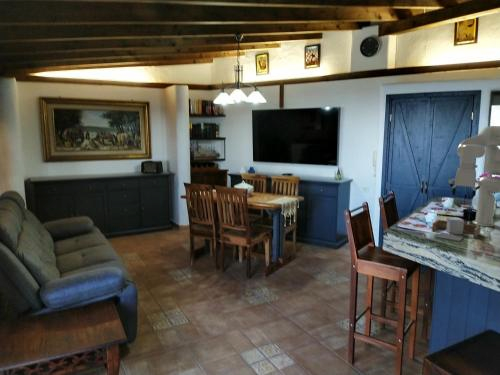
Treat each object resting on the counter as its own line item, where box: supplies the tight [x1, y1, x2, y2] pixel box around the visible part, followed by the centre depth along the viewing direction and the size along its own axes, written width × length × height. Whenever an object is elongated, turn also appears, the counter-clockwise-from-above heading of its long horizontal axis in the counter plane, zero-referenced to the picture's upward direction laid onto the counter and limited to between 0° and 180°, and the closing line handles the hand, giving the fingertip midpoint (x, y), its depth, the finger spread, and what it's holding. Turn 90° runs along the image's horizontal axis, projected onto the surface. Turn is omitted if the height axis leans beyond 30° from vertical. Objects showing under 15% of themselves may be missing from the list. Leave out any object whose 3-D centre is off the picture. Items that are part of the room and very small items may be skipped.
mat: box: [436, 232, 465, 242], centre depth 219 cm, size 12×12×1 cm
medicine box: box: [445, 218, 465, 235], centre depth 227 cm, size 8×4×9 cm, turn 84°
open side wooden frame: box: [431, 219, 480, 239], centre depth 229 cm, size 12×23×5 cm, turn 51°
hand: (463, 196), depth 220 cm, fingers open, 9 cm apart
